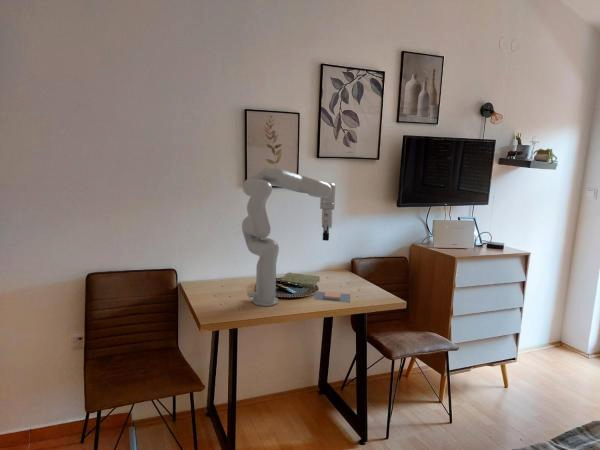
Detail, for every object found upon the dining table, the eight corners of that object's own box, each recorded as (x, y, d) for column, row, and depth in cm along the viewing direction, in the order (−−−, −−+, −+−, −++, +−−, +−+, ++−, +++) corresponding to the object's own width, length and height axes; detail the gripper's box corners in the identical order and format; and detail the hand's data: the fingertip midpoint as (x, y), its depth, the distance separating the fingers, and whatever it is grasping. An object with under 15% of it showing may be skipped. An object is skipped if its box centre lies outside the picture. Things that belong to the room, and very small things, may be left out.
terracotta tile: (325, 293, 224) (324, 298, 216) (325, 291, 223) (324, 296, 215) (340, 295, 222) (340, 300, 215) (340, 292, 222) (340, 297, 214)
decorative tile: (286, 277, 255) (286, 271, 255) (319, 280, 251) (320, 274, 251) (278, 286, 237) (278, 280, 237) (314, 290, 233) (314, 283, 233)
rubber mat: (313, 301, 214) (313, 299, 214) (316, 292, 227) (316, 291, 227) (349, 304, 212) (350, 302, 212) (350, 295, 225) (350, 294, 225)
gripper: (333, 208, 219) (331, 243, 222) (335, 204, 234) (333, 238, 237) (318, 207, 220) (317, 242, 223) (321, 204, 235) (319, 237, 238)
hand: (325, 240), depth 230 cm, fingers closed
